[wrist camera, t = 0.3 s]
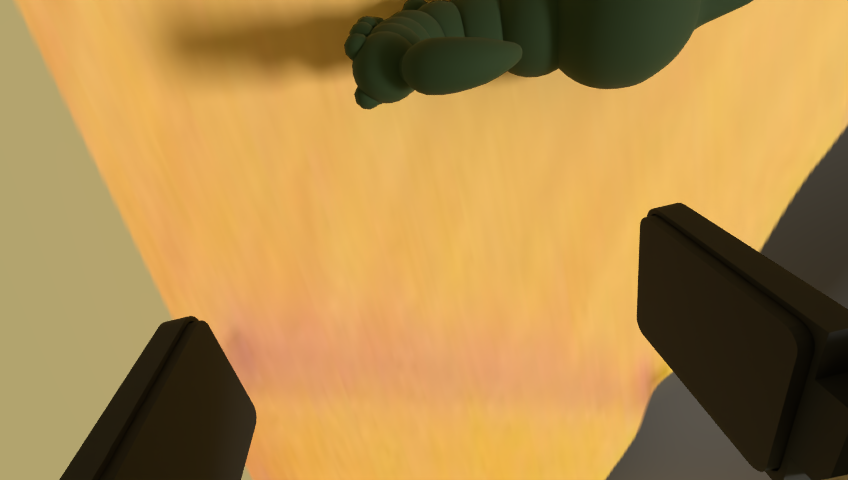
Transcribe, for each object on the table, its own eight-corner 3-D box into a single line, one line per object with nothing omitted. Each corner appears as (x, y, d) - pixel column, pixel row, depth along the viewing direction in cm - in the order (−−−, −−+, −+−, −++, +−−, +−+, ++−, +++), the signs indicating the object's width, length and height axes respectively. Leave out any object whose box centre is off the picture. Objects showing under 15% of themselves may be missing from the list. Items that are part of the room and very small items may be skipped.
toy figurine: (384, 103, 39) (677, 59, 38) (361, 184, 22) (886, 109, 21) (361, -21, 34) (694, -77, 33) (312, -35, 18) (976, -149, 16)
